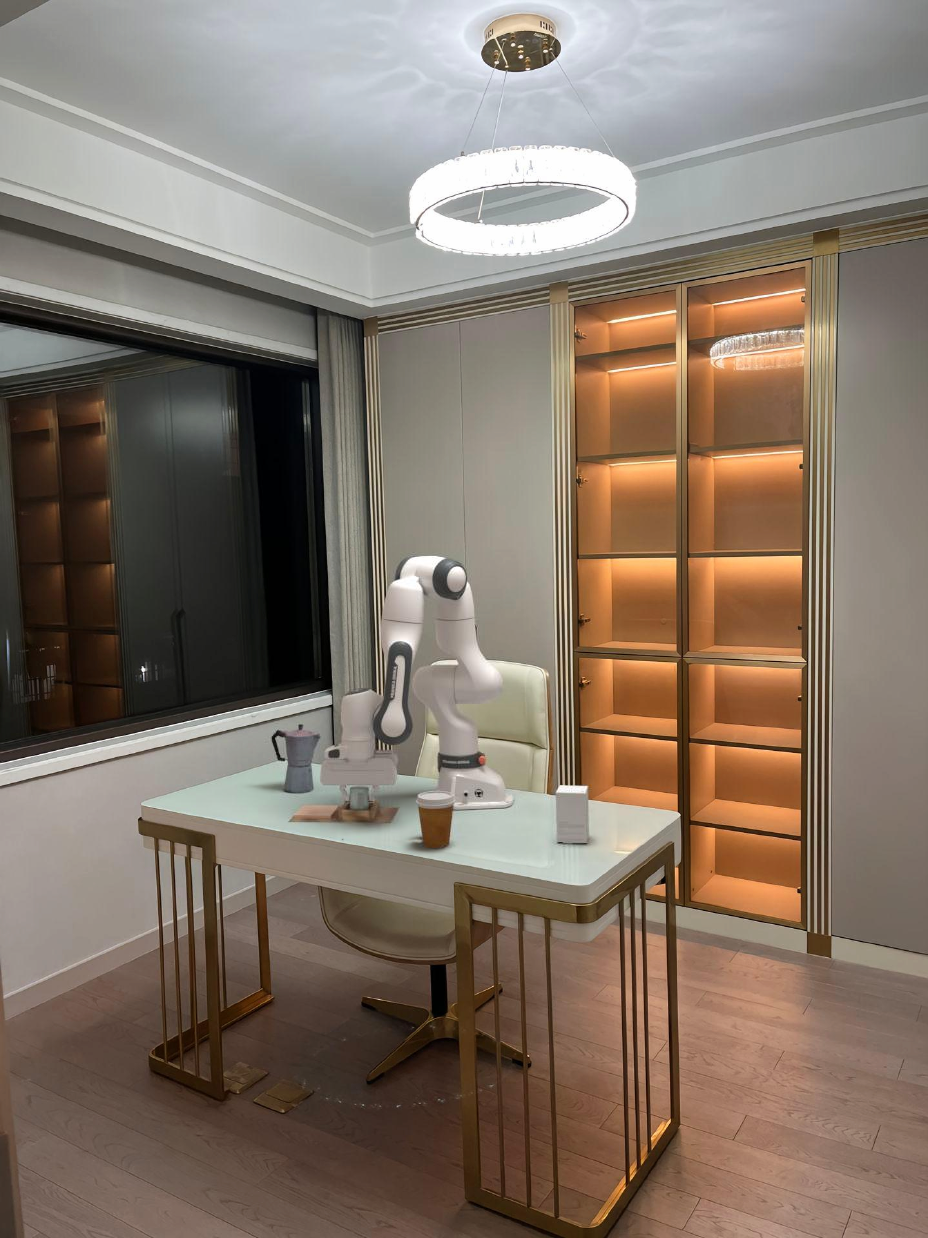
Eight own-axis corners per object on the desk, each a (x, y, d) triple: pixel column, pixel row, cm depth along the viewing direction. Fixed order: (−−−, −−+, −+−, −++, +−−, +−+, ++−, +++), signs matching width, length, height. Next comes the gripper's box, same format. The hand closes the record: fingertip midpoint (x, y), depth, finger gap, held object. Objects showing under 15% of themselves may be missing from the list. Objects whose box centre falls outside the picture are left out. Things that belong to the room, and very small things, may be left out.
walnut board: (399, 811, 258) (399, 798, 257) (390, 826, 243) (390, 813, 242) (303, 810, 260) (302, 797, 260) (288, 825, 245) (287, 812, 245)
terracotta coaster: (339, 808, 258) (339, 805, 257) (330, 818, 248) (330, 815, 248) (303, 808, 258) (303, 805, 258) (293, 818, 248) (293, 815, 248)
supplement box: (589, 836, 232) (589, 785, 231) (586, 845, 225) (586, 793, 224) (559, 834, 234) (559, 784, 233) (555, 843, 227) (555, 791, 226)
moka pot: (320, 793, 278) (318, 726, 277) (268, 794, 278) (266, 727, 277) (325, 786, 288) (324, 721, 286) (275, 786, 288) (273, 721, 287)
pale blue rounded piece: (371, 819, 244) (371, 790, 244) (352, 820, 243) (351, 791, 243) (367, 813, 252) (367, 785, 252) (349, 814, 251) (349, 786, 251)
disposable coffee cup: (459, 839, 231) (458, 791, 230) (452, 851, 222) (451, 801, 221) (421, 837, 233) (420, 790, 232) (412, 849, 223) (411, 799, 222)
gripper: (399, 747, 251) (399, 798, 251) (323, 747, 252) (324, 798, 253) (395, 752, 244) (396, 804, 245) (318, 752, 246) (319, 804, 246)
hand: (359, 801), depth 249 cm, fingers closed on pale blue rounded piece, 5 cm apart
